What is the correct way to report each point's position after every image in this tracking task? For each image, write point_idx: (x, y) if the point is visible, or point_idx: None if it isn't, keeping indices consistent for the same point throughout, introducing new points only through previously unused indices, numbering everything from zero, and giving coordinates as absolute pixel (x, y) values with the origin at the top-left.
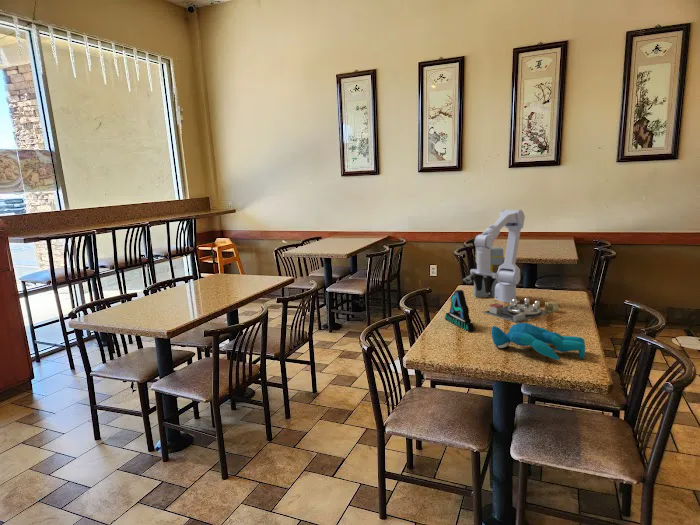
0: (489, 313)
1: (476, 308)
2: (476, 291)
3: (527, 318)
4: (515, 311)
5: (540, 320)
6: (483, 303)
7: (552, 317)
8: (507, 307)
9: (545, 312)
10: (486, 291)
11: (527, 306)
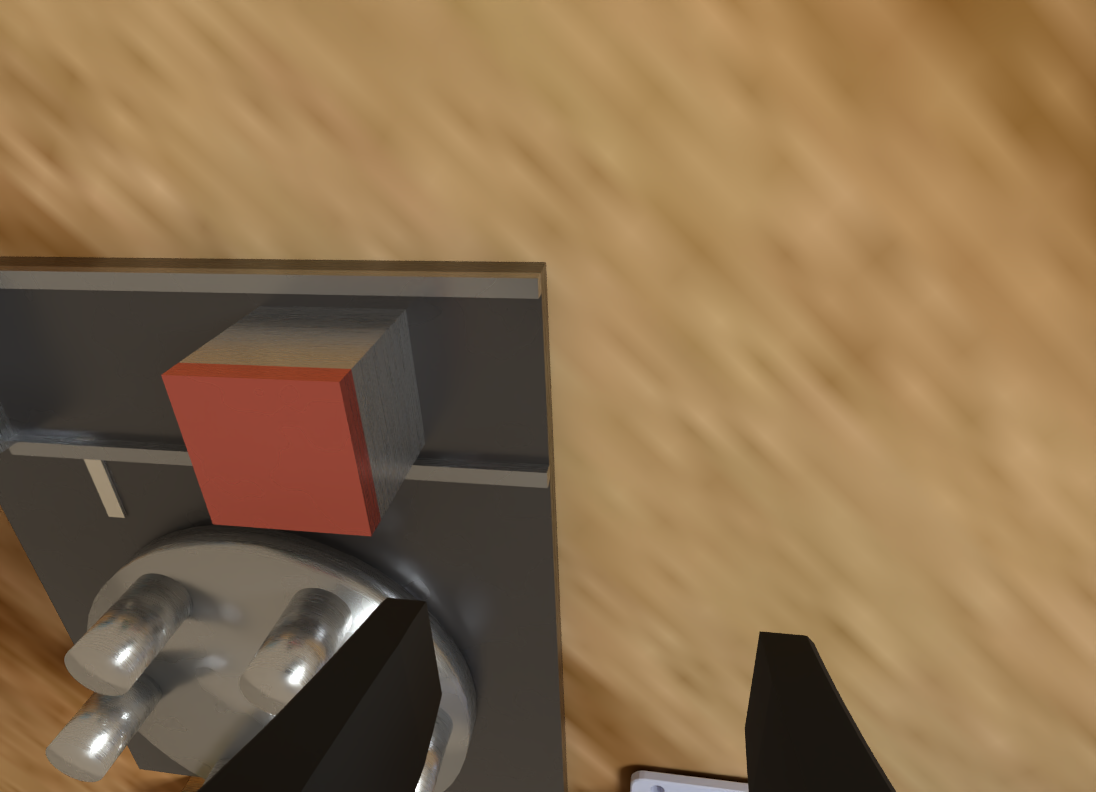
0: (370, 286)
1: (851, 432)
2: None
3: (23, 495)
4: (204, 558)
5: (9, 560)
6: (940, 672)
7: (71, 686)
8: (512, 673)
9: None
10: (360, 626)
11: None
